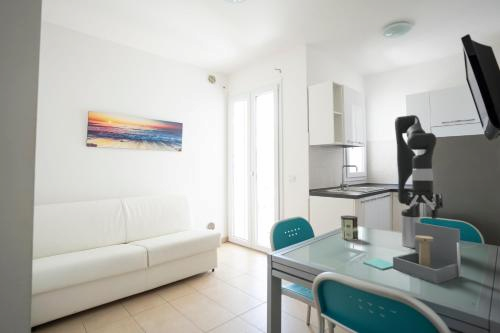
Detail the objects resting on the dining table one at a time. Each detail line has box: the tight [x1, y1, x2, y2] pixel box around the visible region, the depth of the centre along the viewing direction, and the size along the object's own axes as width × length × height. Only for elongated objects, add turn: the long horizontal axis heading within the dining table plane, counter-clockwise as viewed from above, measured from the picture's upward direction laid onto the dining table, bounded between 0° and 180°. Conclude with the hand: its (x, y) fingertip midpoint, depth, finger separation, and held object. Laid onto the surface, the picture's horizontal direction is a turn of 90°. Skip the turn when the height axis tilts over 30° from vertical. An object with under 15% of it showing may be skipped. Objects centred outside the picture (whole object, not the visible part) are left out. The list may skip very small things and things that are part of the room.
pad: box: [362, 258, 393, 271], centre depth 121 cm, size 10×10×1 cm
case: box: [392, 222, 462, 284], centre depth 111 cm, size 17×19×19 cm
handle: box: [415, 236, 433, 268], centre depth 111 cm, size 5×6×15 cm
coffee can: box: [340, 215, 359, 241], centre depth 168 cm, size 10×10×14 cm
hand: (423, 217), depth 112 cm, fingers open, 8 cm apart
